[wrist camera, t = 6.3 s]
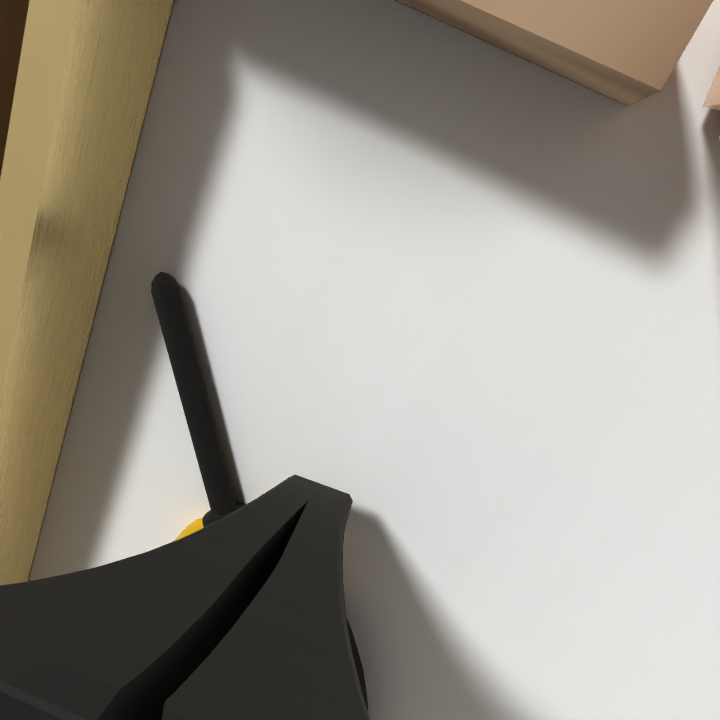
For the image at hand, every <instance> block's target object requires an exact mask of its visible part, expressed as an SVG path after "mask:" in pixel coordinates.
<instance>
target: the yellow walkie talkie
mask: <svg viewBox="0 0 720 720" xmlns="http://www.w3.org/2000/svg"><path fill="white" fill-rule="evenodd" d="M151 293H152V296H153V300H154V304H155V307H156V311H157V314H158V318H159V322H160V325H161V329H162V333H163V336H164V340H165V344H166V347H167V351H168V355H169V358H170V362H171V366H172V369H173V373H174V377H175V380H176V384H177V387H178V391H179V395H180V398H181V402H182V406H183V409H184V413H185V417H186V420H187V424H188V428H189V431H190V435H191V439H192V442H193V446H194V450H195V453H196V457H197V460H198V464H199V468H200V471H201V475H202V479H203V482H204V486H205V490H206V493H207V497H208V501H209V504H210V508H211V510H210V511H209V512H207V513H206V514H205V515H204V517H203V518H202V519H197V520H196V521H195V522H193V523H192V524H190V525H189V526H187V527H186V529H185V530H184V531H183V532H182V533H181V534H180V535H179V536H178V538H177V539H176V540H178V539H181V538H183V537H185V536H187V535H190V534H192V533H194V532H196V531H198V530H200V529H202V528H204V527H206V526H208V525H210V524H212V523H214V522H216V521H218V520H220V519H222V518H224V517H225V516H227V515H229V514H231V513H233V512H234V511H236V510H238V509H240V508H241V507H243V506H245V505H246V504H242V503H237V502H235V499H234V495H233V491H232V488H231V484H230V480H229V476H228V472H227V468H226V465H225V461H224V457H223V453H222V449H221V445H220V441H219V438H218V434H217V430H216V426H215V422H214V418H213V415H212V411H211V407H210V403H209V399H208V395H207V391H206V388H205V384H204V380H203V376H202V372H201V368H200V365H199V361H198V357H197V353H196V349H195V345H194V341H193V338H192V334H191V330H190V326H189V322H188V318H187V315H186V311H185V307H184V303H183V299H182V295H181V291H180V288H179V285H178V283H177V282H176V280H175V278H173V277H172V276H171V275H169V274H168V273H163V272H160V273H159V274H157V275H156V276H155V278H154V279H153V281H152V288H151ZM176 540H175V541H176ZM346 619H347V618H346ZM347 626H348V633H349V638H350V644H351V649H352V655H353V659H354V663H355V667H356V671H357V675H358V679H359V683H360V686H361V690H362V694H363V698H364V701H365V705H366V708H367V711H368V703H367V694H366V686H365V679H364V672H363V668H362V664H361V661H360V657H359V654H358V650H357V647H356V643H355V640H354V637H353V634H352V630H351V628H350V625H349V623H348V620H347Z"/></svg>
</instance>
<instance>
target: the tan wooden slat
mask: <svg viewBox="0 0 720 720" xmlns="http://www.w3.org/2000/svg"><path fill="white" fill-rule="evenodd" d="M173 1H174V0H29V6H28V13H27V19H26V25H25V31H24V37H23V43H22V49H21V55H20V62H19V68H18V74H17V80H16V86H15V92H14V98H13V105H12V111H11V117H10V123H9V129H8V135H7V141H6V147H5V154H4V160H3V166H2V172H1V178H0V585H7V584H14V583H22V582H27V581H28V577H29V573H30V569H31V565H32V561H33V557H34V554H35V550H36V546H37V542H38V538H39V534H40V530H41V526H42V522H43V518H44V514H45V510H46V506H47V502H48V498H49V494H50V490H51V486H52V482H53V478H54V474H55V470H56V466H57V462H58V458H59V454H60V450H61V446H62V442H63V438H64V434H65V430H66V426H67V422H68V418H69V414H70V410H71V406H72V402H73V398H74V394H75V390H76V387H77V383H78V379H79V375H80V371H81V367H82V363H83V359H84V355H85V351H86V347H87V343H88V339H89V335H90V331H91V327H92V323H93V319H94V315H95V311H96V307H97V303H98V299H99V295H100V291H101V287H102V283H103V279H104V275H105V271H106V267H107V263H108V259H109V255H110V251H111V247H112V243H113V239H114V235H115V231H116V227H117V223H118V219H119V216H120V212H121V208H122V204H123V200H124V196H125V192H126V188H127V184H128V180H129V176H130V172H131V168H132V164H133V160H134V156H135V152H136V148H137V144H138V140H139V136H140V132H141V128H142V124H143V120H144V116H145V112H146V108H147V104H148V100H149V96H150V92H151V88H152V84H153V80H154V76H155V72H156V68H157V64H158V60H159V56H160V52H161V49H162V45H163V41H164V37H165V33H166V29H167V25H168V21H169V17H170V13H171V9H172V5H173Z"/></svg>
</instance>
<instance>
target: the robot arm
mask: <svg viewBox="0 0 720 720" xmlns="http://www.w3.org/2000/svg"><path fill="white" fill-rule="evenodd" d="M352 502H353V501H352V499H351V497H350V495H349V494H347V493H344V492H341V491H338V490H336V489H333V488H330V487H328V486H325V485H322V484H319V483H317V482H314V481H311V480H308V479H306V478H303V477H300V476H297V475H293V476H291V477H289V478H288V479H286V480H285V481H283V482H282V483H280V484H278V485H277V486H275V487H274V488H272V489H271V490H269V491H268V492H266V493H265V494H263V495H261V496H260V497H258V498H257V499H255V500H253V501H252V502H250V503H248V504H246V505H245V506H243V507H241V508H240V509H238V510H236V511H234V512H233V513H231V514H229V515H227V516H225V517H224V518H222V519H220V520H218V521H216V522H214V523H212V524H210V525H208V526H206V527H204V528H202V529H200V530H198V531H196V532H194V533H192V534H190V535H187V536H185V537H183V538H181V539H178V540H176V541H174V542H171V543H169V544H166V545H164V546H161V547H159V548H156V549H154V550H151V551H148V552H145V553H142V554H139V555H136V556H132V557H129V558H126V559H123V560H119V561H116V562H113V563H109V564H106V565H103V566H99V567H95V568H91V569H87V570H83V571H79V572H75V573H70V574H65V575H60V576H56V577H51V578H46V579H40V580H35V581H29V582H22V583H14V584H7V585H0V720H370V717H369V714H368V711H367V708H366V705H365V701H364V698H363V694H362V690H361V686H360V683H359V679H358V675H357V671H356V667H355V663H354V659H353V655H352V649H351V644H350V638H349V633H348V626H347V619H346V612H345V602H344V589H343V539H344V530H345V526H346V522H347V519H348V516H349V512H350V509H351V505H352Z"/></svg>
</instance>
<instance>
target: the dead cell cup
mask: <svg viewBox="0 0 720 720" xmlns="http://www.w3.org/2000/svg"><path fill="white" fill-rule="evenodd" d="M703 107H706V108H710V109H715V110H719V111H720V66H719V68H718V71H717V73H716V76H715V78H714V81H713V83H712V85H711V88H710V90H709V93H708V95H707V97H706V100H705V102H704V105H703ZM718 140H720V136H719V138H718Z"/></svg>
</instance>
